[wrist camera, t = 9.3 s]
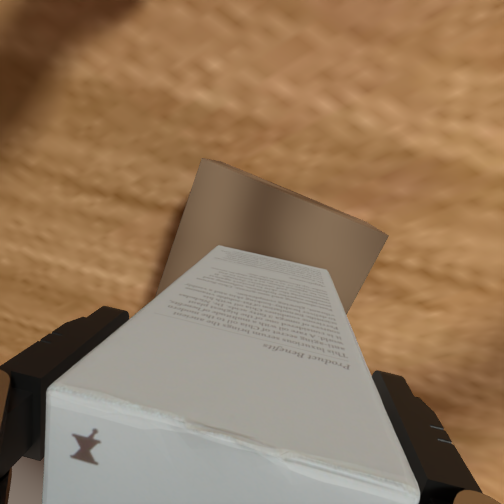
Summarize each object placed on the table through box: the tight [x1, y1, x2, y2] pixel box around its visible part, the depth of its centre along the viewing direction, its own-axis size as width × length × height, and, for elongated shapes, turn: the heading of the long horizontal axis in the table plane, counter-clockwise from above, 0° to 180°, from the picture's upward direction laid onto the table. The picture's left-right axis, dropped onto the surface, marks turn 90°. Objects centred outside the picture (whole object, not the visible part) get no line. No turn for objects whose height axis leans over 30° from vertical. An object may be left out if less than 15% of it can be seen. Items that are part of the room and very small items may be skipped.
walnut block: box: [155, 158, 388, 315], centre depth 19 cm, size 10×10×5 cm
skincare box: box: [42, 245, 420, 504], centre depth 11 cm, size 6×4×12 cm
